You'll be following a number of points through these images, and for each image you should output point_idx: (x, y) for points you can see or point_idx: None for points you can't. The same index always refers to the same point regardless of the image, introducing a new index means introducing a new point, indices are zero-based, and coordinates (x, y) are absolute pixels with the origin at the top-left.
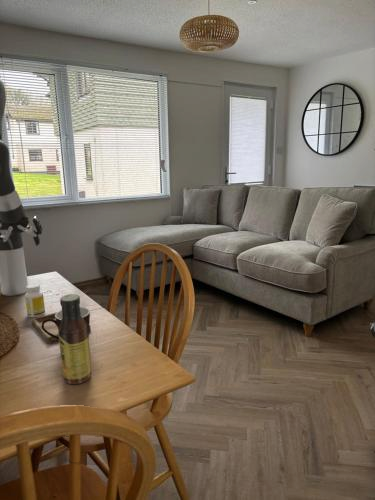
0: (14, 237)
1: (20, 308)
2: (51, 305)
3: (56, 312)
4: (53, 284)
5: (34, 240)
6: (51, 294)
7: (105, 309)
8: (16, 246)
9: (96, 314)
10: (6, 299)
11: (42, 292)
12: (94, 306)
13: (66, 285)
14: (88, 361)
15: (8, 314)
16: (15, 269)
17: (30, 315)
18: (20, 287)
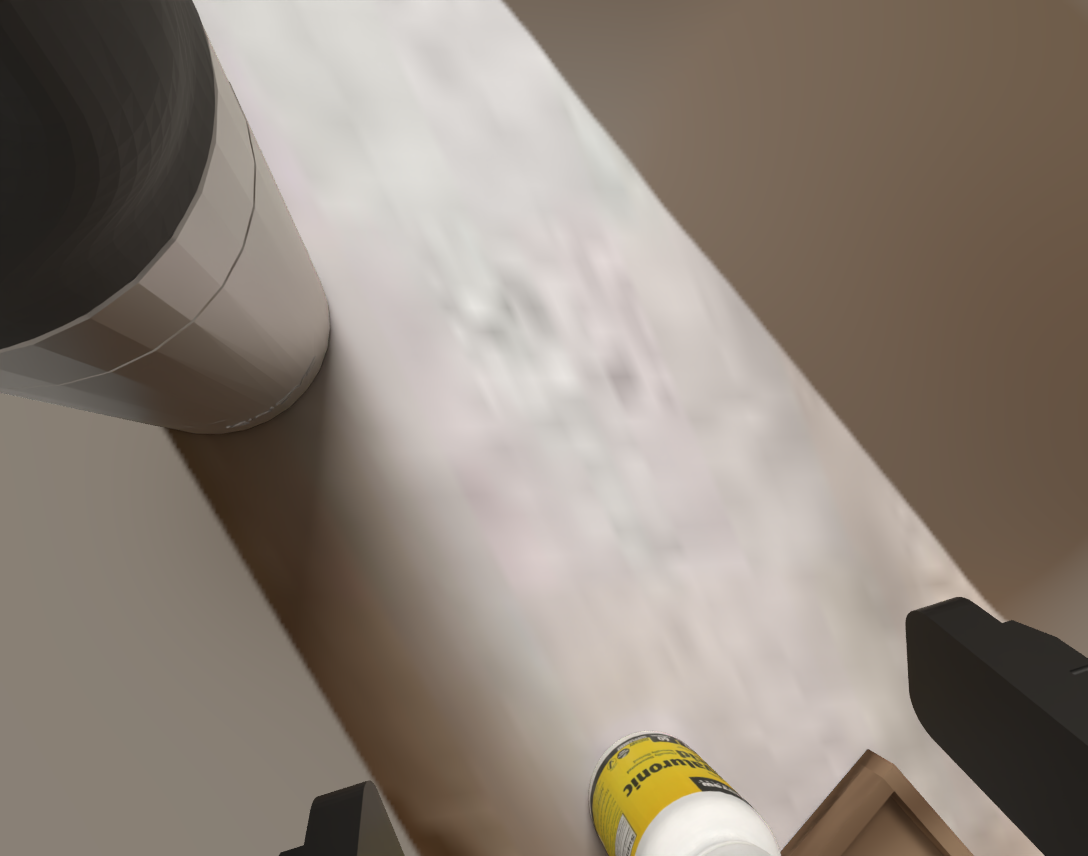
0: (50, 161)
1: (465, 693)
2: (673, 610)
3: (831, 845)
4: (478, 133)
5: (1049, 849)
6: (570, 380)
7: None
8: (157, 214)
9: None
10: (232, 510)
11: (777, 845)
12: None
13: (601, 165)
14: None
15: (432, 820)
16: (232, 367)
17: None
18: (297, 378)
